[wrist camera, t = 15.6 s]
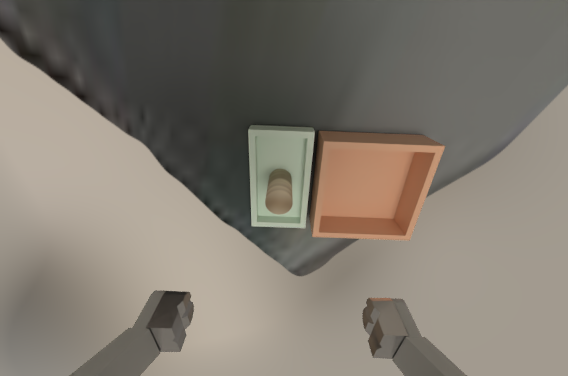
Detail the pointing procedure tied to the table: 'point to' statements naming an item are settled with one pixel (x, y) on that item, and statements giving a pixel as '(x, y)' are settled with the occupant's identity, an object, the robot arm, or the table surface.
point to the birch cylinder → (279, 192)
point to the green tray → (280, 155)
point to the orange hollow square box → (371, 184)
